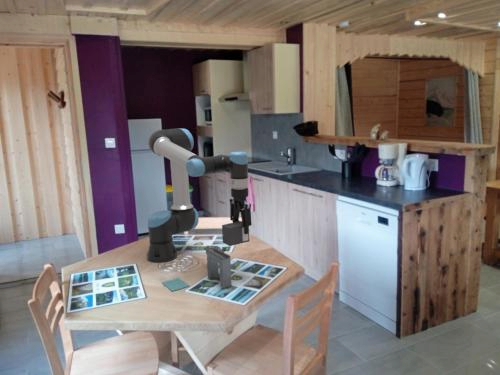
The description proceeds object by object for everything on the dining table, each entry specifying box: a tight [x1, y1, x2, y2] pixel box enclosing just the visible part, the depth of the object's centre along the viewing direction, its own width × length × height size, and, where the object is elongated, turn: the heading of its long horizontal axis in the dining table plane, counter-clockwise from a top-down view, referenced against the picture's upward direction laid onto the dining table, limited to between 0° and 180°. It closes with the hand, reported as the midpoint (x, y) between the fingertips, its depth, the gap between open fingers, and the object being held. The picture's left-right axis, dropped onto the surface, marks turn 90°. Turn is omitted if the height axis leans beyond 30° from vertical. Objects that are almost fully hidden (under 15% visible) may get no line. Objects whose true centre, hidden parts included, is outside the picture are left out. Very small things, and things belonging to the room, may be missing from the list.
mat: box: [161, 277, 191, 292], centre depth 178 cm, size 11×8×1 cm
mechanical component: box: [203, 245, 227, 255], centre depth 196 cm, size 3×10×10 cm, turn 78°
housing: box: [205, 248, 233, 289], centre depth 178 cm, size 14×4×13 cm, turn 34°
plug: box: [221, 220, 250, 247], centre depth 182 cm, size 6×12×8 cm, turn 125°
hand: (241, 238), depth 183 cm, fingers closed on plug, 6 cm apart
